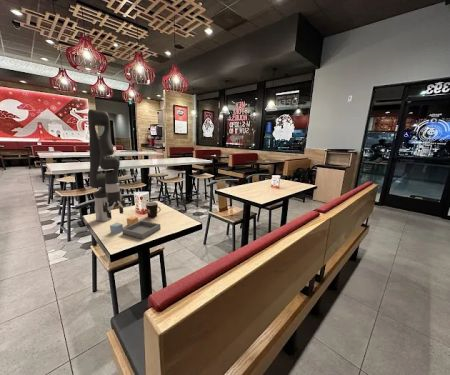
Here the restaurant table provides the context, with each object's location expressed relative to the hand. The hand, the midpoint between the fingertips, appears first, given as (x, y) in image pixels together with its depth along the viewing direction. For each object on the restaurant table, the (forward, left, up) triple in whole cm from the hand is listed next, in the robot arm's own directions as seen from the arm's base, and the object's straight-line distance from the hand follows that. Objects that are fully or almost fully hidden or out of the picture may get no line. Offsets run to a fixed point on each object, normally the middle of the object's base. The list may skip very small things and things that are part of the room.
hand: (115, 215), depth 132 cm
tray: (+14, +7, -11) cm, 19 cm away
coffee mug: (+3, +30, -11) cm, 32 cm away
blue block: (0, 0, -11) cm, 11 cm away
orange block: (0, +13, -11) cm, 17 cm away
